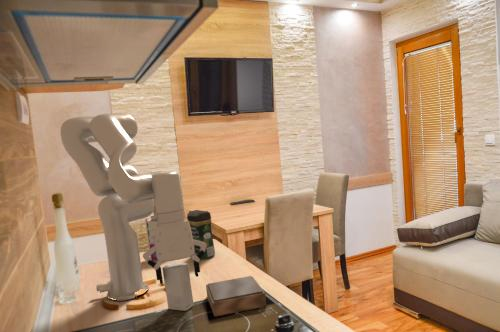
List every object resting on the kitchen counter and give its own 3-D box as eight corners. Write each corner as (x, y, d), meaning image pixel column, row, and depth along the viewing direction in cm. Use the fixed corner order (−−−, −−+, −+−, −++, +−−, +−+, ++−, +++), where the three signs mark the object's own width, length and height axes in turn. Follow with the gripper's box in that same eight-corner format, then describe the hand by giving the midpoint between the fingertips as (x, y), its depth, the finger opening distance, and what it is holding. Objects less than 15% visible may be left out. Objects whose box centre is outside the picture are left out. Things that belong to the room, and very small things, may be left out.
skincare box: (194, 305, 111) (189, 262, 110) (184, 312, 107) (179, 268, 106) (176, 303, 113) (171, 261, 113) (166, 309, 109) (161, 266, 109)
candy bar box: (176, 252, 167) (171, 214, 166) (179, 255, 163) (174, 215, 162) (149, 258, 163) (144, 218, 162) (151, 261, 158) (146, 220, 157)
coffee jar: (188, 257, 158) (183, 211, 157) (204, 252, 164) (199, 207, 162) (202, 261, 151) (196, 213, 150) (218, 255, 156) (213, 209, 155)
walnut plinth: (214, 316, 102) (212, 301, 102) (207, 296, 116) (205, 283, 116) (266, 306, 105) (264, 291, 105) (253, 288, 119) (252, 275, 119)
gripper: (137, 224, 103) (146, 289, 103) (203, 214, 106) (212, 276, 107) (138, 220, 110) (147, 281, 111) (200, 210, 114) (208, 269, 115)
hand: (179, 278), depth 109 cm, fingers open, 9 cm apart
